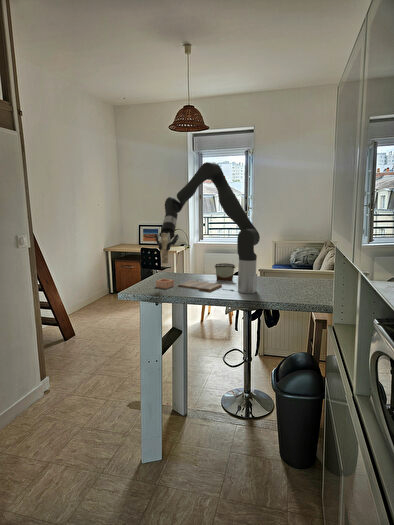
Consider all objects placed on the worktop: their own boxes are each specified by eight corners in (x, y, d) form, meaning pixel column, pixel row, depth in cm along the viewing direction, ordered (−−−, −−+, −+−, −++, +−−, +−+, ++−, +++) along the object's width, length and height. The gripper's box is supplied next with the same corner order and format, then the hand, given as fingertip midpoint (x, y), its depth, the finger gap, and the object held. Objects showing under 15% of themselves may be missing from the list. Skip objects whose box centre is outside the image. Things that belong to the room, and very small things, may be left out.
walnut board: (221, 286, 198) (221, 284, 198) (210, 292, 186) (210, 289, 185) (190, 282, 207) (190, 280, 207) (177, 287, 195) (177, 284, 195)
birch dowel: (169, 262, 193) (169, 233, 191) (165, 263, 190) (165, 233, 188) (164, 262, 195) (163, 233, 192) (160, 263, 192) (160, 233, 189)
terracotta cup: (173, 286, 196) (173, 279, 195) (166, 289, 190) (166, 282, 189) (163, 285, 200) (163, 278, 199) (155, 287, 193) (155, 280, 193)
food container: (234, 279, 218) (235, 263, 216) (234, 281, 212) (235, 265, 210) (214, 278, 219) (215, 262, 217) (214, 280, 213) (214, 264, 211)
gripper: (155, 221, 197) (149, 245, 187) (180, 221, 195) (175, 245, 185) (158, 230, 203) (152, 253, 194) (182, 230, 201) (177, 254, 191)
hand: (163, 249), depth 189 cm, fingers closed on birch dowel, 3 cm apart
